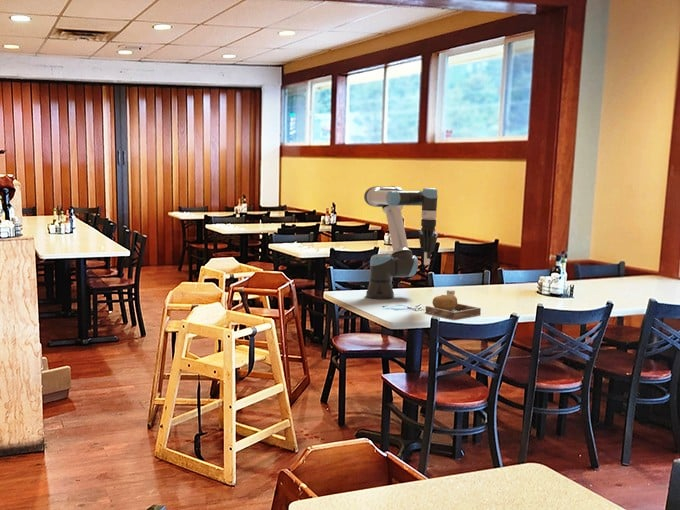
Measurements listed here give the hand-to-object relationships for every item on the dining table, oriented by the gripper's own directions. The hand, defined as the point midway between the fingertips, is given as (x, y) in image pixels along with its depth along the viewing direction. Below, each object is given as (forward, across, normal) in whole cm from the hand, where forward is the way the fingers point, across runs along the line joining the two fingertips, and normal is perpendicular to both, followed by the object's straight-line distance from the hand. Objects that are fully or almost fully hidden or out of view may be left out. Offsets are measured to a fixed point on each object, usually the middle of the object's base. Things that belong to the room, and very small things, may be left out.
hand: (426, 264), depth 361 cm
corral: (+21, +21, -2) cm, 30 cm away
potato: (+21, +16, -2) cm, 27 cm away
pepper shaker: (+21, +9, +9) cm, 25 cm away
